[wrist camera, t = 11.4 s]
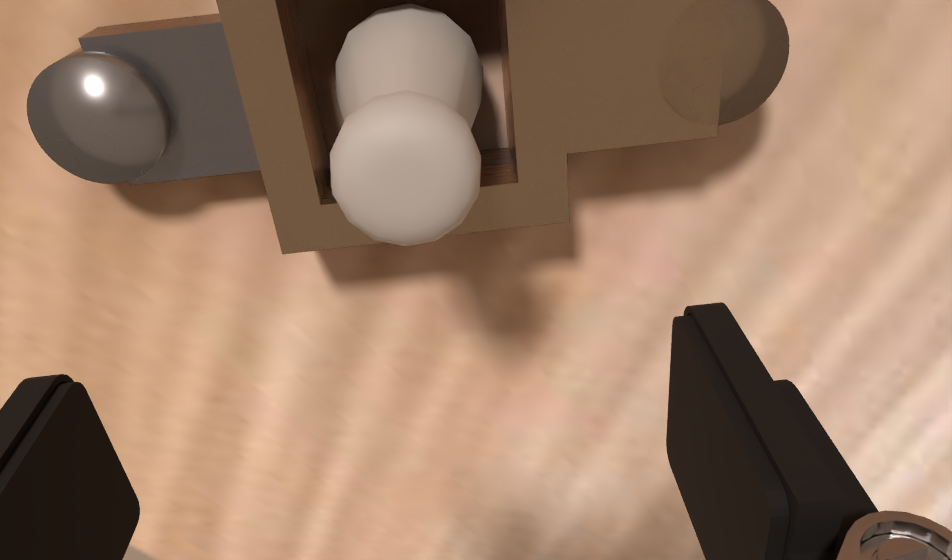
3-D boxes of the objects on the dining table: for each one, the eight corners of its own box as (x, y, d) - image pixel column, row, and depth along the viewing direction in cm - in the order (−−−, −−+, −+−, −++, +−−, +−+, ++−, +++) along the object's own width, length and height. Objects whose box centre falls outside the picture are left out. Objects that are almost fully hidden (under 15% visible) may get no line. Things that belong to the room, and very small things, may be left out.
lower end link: (541, -107, 28) (553, -102, 26) (554, 184, 34) (565, 211, 32) (4, -47, 28) (-38, -37, 26) (113, 234, 34) (87, 265, 32)
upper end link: (762, -132, 28) (809, -128, 25) (736, 163, 34) (771, 198, 31) (227, -72, 28) (200, -61, 25) (296, 213, 34) (282, 254, 31)
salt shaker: (398, 157, 33) (386, 315, 22) (312, 52, 31) (248, 170, 20) (506, 79, 32) (551, 206, 21) (424, -38, 29) (425, 35, 18)
